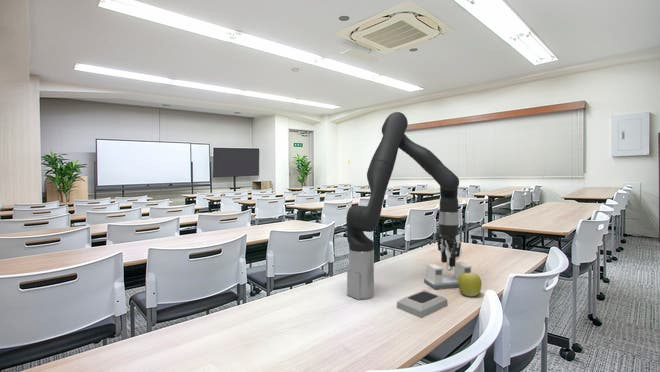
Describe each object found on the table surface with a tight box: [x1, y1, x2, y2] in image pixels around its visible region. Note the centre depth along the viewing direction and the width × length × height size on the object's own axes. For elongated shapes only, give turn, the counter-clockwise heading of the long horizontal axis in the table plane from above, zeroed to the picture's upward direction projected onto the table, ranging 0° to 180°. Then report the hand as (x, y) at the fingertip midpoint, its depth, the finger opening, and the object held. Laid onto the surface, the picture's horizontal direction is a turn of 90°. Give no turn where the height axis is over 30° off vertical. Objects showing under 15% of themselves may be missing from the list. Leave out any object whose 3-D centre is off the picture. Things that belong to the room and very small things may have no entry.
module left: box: [425, 263, 444, 284], centre depth 128 cm, size 4×7×6 cm, turn 11°
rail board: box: [423, 275, 460, 291], centre depth 130 cm, size 17×8×2 cm, turn 101°
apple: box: [458, 272, 482, 298], centre depth 119 cm, size 8×8×10 cm
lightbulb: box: [445, 247, 463, 272], centre depth 130 cm, size 6×6×11 cm
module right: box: [453, 261, 472, 278], centre depth 131 cm, size 4×7×6 cm, turn 11°
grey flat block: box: [396, 289, 448, 319], centre depth 109 cm, size 10×4×15 cm
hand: (448, 264), depth 130 cm, fingers closed on lightbulb, 5 cm apart
